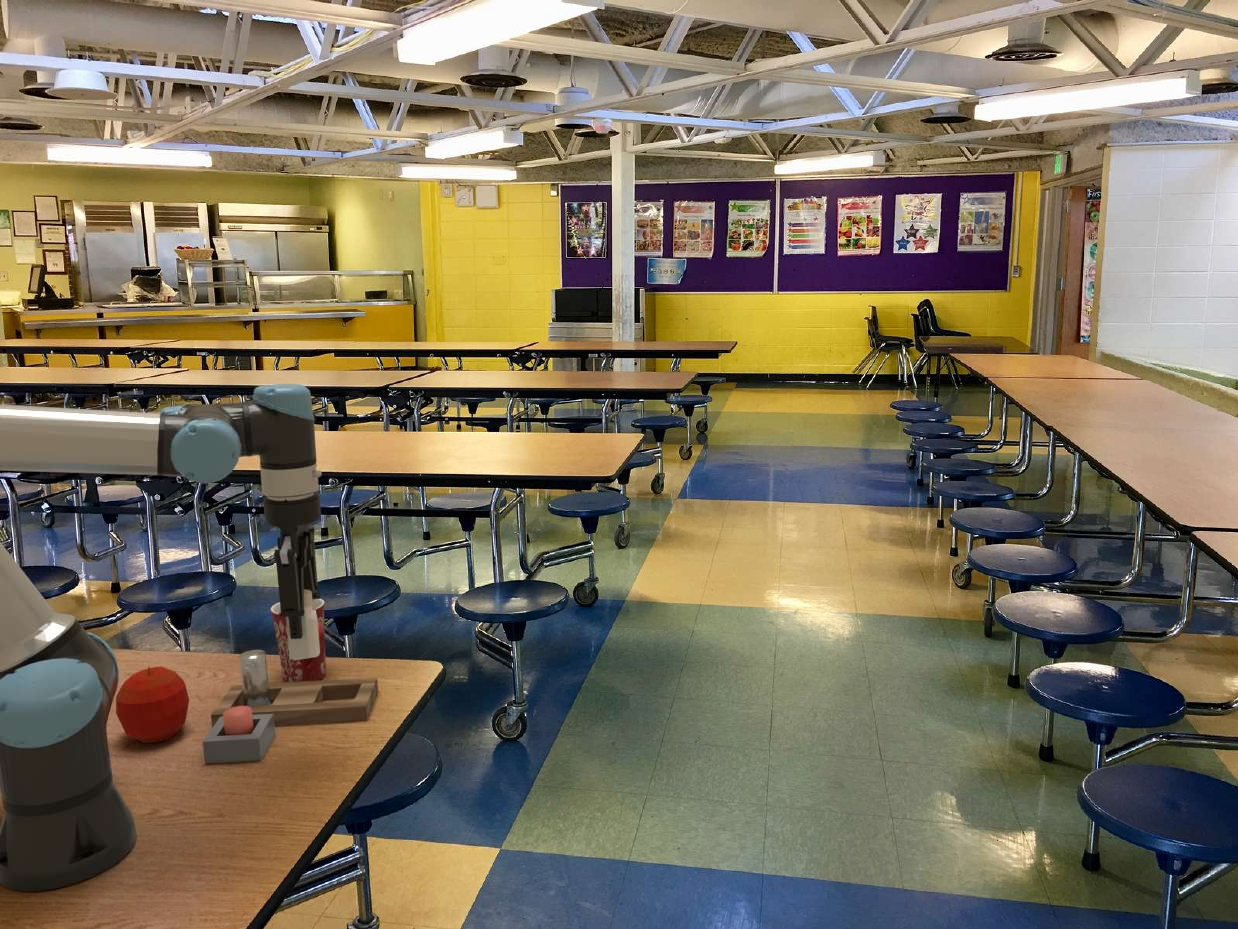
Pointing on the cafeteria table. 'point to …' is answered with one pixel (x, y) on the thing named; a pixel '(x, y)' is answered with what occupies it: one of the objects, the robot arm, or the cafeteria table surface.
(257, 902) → the cafeteria table surface
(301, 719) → the board
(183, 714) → the apple
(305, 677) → the mug
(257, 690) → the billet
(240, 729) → the button
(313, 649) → the pepper shaker
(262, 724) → the button housing
